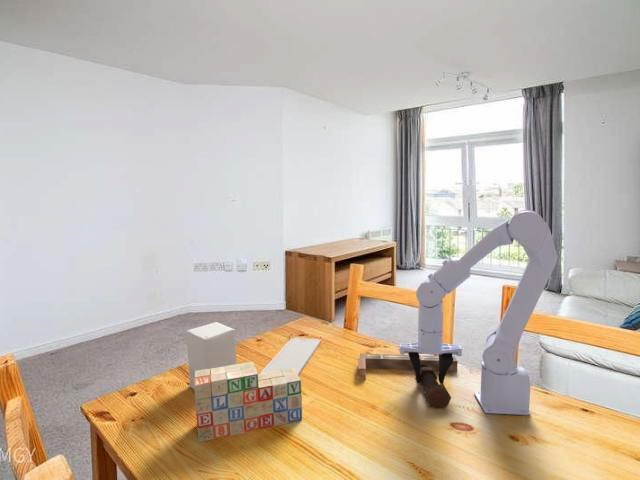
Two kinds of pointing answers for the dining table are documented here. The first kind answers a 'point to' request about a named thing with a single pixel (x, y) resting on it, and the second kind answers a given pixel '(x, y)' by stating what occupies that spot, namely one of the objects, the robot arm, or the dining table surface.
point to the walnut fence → (397, 363)
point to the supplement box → (210, 348)
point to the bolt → (433, 388)
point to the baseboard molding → (293, 355)
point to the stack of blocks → (244, 400)
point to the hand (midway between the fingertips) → (429, 381)
